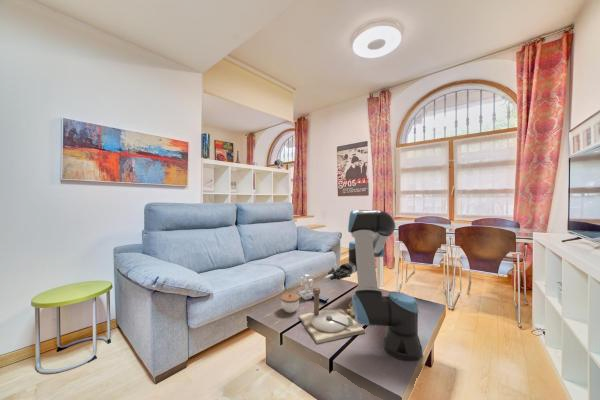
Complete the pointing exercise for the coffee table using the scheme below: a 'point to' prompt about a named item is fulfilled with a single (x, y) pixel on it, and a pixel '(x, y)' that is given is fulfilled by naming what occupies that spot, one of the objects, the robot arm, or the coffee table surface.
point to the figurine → (306, 287)
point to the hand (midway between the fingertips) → (326, 279)
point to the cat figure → (350, 310)
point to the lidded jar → (290, 302)
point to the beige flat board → (328, 336)
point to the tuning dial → (327, 317)
